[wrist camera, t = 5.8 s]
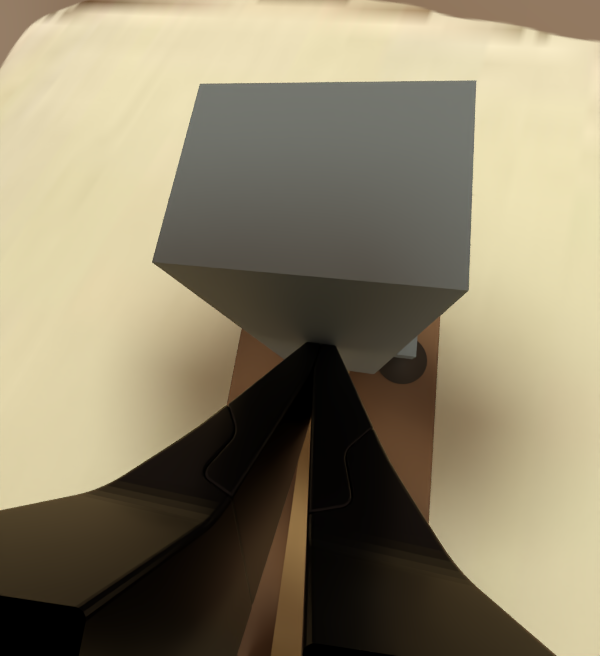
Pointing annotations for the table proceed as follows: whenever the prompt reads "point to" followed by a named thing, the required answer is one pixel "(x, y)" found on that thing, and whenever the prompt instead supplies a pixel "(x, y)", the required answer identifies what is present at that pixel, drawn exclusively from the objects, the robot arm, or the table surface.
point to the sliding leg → (326, 211)
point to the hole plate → (290, 538)
